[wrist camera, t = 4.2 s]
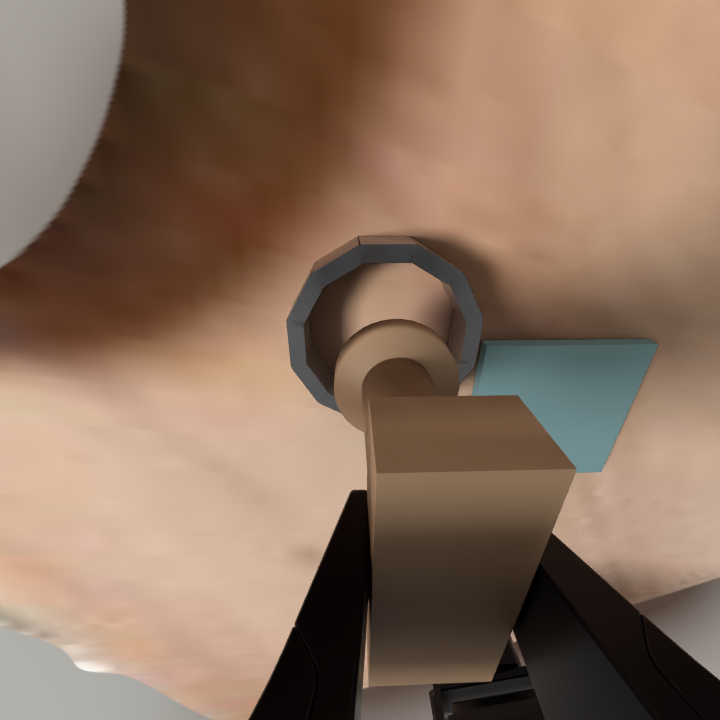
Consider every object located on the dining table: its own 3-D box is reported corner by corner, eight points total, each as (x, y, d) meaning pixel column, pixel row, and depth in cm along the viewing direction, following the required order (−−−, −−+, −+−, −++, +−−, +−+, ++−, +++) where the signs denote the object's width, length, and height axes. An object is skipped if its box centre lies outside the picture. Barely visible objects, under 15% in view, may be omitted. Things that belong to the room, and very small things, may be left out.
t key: (332, 294, 13) (307, 474, 5) (462, 293, 13) (641, 467, 5) (336, 438, 16) (327, 688, 8) (441, 436, 16) (531, 679, 8)
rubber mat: (593, 463, 25) (601, 472, 24) (458, 466, 25) (461, 475, 24) (647, 338, 20) (658, 344, 20) (482, 340, 20) (487, 346, 19)
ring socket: (453, 394, 22) (465, 419, 20) (301, 397, 21) (296, 422, 19) (478, 236, 17) (497, 243, 15) (287, 236, 17) (278, 244, 15)
